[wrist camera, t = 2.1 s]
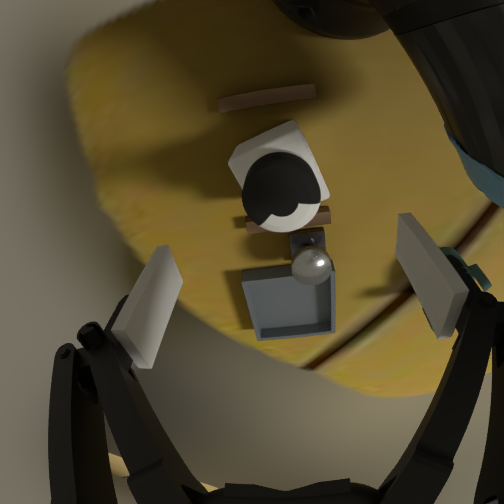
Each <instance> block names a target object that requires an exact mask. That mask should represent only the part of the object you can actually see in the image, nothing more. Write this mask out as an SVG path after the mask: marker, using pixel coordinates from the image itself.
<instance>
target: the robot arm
mask: <svg viewBox="0 0 504 504" xmlns="http://www.w3.org/2000/svg"><path fill="white" fill-rule="evenodd" d="M273 1H274V3H275V4H276V5H277V6H278V8H279V9H280V10H281V11H282V12H283V13H284V14H285V15H286V16H288V17H289V18H290V19H291V20H293V21H294V22H296V23H297V24H299V25H300V26H302V27H304V28H306V29H308V30H310V31H312V32H315V33H317V34H320V35H323V36H327V37H331V38H336V39H345V40H356V39H364V38H368V37H372V36H375V35H377V34H380V33H382V32H385V31H387V30H388V29H391V30H392V31H393V33H394V35H395V37H396V38H397V39H398V41H399V42H400V44H401V45H402V47H403V48H404V50H405V51H406V53H407V54H408V56H409V58H410V59H411V61H412V62H413V64H414V66H415V67H416V69H417V71H418V72H419V74H420V76H421V77H422V79H423V81H424V83H425V85H426V86H427V88H428V90H429V92H430V94H431V96H432V98H433V100H434V102H435V104H436V106H437V108H438V110H439V112H440V114H441V116H442V118H443V120H444V127H445V130H446V133H447V135H448V137H449V139H450V141H451V143H452V144H453V145H454V147H455V148H456V150H457V152H458V154H459V156H460V159H461V161H462V163H463V166H464V169H465V171H466V173H467V175H468V176H469V178H470V180H471V181H472V182H473V184H474V185H475V186H476V187H477V189H479V190H480V191H482V192H484V193H485V195H486V196H487V197H488V198H489V199H490V200H491V201H493V202H494V203H496V204H497V205H499V206H501V207H502V208H504V0H273ZM395 256H396V257H397V259H398V261H399V263H400V264H401V266H402V268H403V270H404V272H405V274H406V275H407V277H408V279H409V281H410V283H411V285H412V287H413V289H414V291H415V293H416V295H417V297H418V299H419V301H420V303H421V305H422V307H423V309H424V311H425V313H426V315H427V317H428V319H429V321H430V323H431V326H432V328H433V330H434V332H435V335H436V337H437V339H438V340H440V339H444V338H448V337H451V336H452V334H453V332H454V330H455V327H456V329H457V331H458V333H459V334H458V337H457V339H456V341H455V343H454V345H453V348H452V349H453V351H452V353H451V356H450V359H449V362H448V364H447V367H446V369H445V372H444V374H443V377H442V379H441V382H440V384H439V386H438V388H437V391H436V393H435V395H434V397H433V400H432V402H431V404H430V406H429V408H428V410H427V412H426V414H425V416H424V418H423V420H422V422H421V424H420V426H419V427H418V429H417V431H416V433H415V435H414V436H413V438H412V440H411V442H410V443H409V445H408V447H407V449H406V450H405V452H404V453H403V455H402V457H401V459H400V460H399V461H398V463H397V464H396V466H395V467H394V469H393V470H392V471H391V472H390V474H389V475H388V476H387V478H386V479H385V480H384V482H383V483H382V485H381V486H380V487H379V489H378V490H377V489H374V488H372V487H370V486H367V485H364V484H359V483H353V482H352V483H351V482H350V478H348V479H340V480H333V481H325V482H318V483H314V484H311V485H308V486H305V487H301V488H297V489H294V490H290V491H281V490H276V489H272V488H267V487H263V486H259V485H255V484H230V483H225V488H221V489H217V490H214V491H211V492H208V491H207V490H206V489H205V487H204V486H203V485H202V484H201V483H200V482H199V481H198V480H196V478H195V477H194V476H193V475H192V473H191V472H190V470H189V469H188V467H187V466H186V464H185V463H184V461H183V460H182V458H181V457H180V455H179V453H178V452H177V450H176V449H175V447H174V445H173V444H172V442H171V440H170V439H169V437H168V435H167V434H166V432H165V430H164V429H163V427H162V425H161V424H160V421H159V420H158V418H157V416H156V414H155V412H154V411H153V409H152V407H151V405H150V403H149V401H148V399H147V397H146V395H145V393H144V391H143V389H142V387H141V385H140V383H139V381H138V379H137V377H136V375H135V372H134V370H133V369H132V368H131V364H132V362H133V361H134V363H135V364H136V365H137V366H138V368H149V369H151V368H152V366H153V363H154V360H155V357H156V354H157V351H158V349H159V346H160V343H161V340H162V337H163V335H164V331H165V329H166V326H167V323H168V321H169V318H170V315H171V313H172V310H173V307H174V305H175V302H176V299H177V297H178V294H179V292H180V289H181V286H182V284H183V280H182V278H181V275H180V273H179V270H178V268H177V265H176V263H175V260H174V258H173V255H172V253H171V250H170V248H169V245H165V246H159V247H157V248H156V249H155V251H154V253H153V254H152V256H151V258H150V259H149V261H148V263H147V265H146V266H145V268H144V270H143V271H142V273H141V275H140V277H139V279H138V280H137V282H136V284H135V286H134V287H133V289H132V291H131V293H130V295H126V296H125V297H124V298H123V299H122V300H121V301H120V302H119V303H118V305H117V307H116V310H115V311H114V312H113V314H112V315H113V316H111V318H110V320H109V322H108V324H107V325H106V327H105V329H104V331H103V330H102V328H101V327H100V325H99V324H98V323H97V322H89V323H87V324H85V325H84V326H82V327H81V329H80V330H79V331H78V334H77V339H78V341H79V342H80V343H81V344H82V346H83V347H84V348H80V349H76V348H75V347H74V345H73V344H71V343H67V344H64V345H62V346H61V347H60V348H59V349H58V350H57V352H56V355H55V359H54V366H53V373H52V382H51V392H50V405H49V427H48V459H49V478H50V490H51V498H52V499H51V504H118V503H117V498H116V494H115V489H114V484H113V479H112V473H111V468H110V462H109V455H108V449H107V440H106V434H105V433H106V432H105V423H104V413H105V416H106V419H107V421H108V424H109V427H110V429H111V432H112V434H113V437H114V439H115V442H116V444H117V447H118V449H119V451H120V454H121V456H122V458H123V460H124V463H125V465H126V467H127V469H128V471H129V474H130V477H128V478H127V483H128V486H129V488H130V490H131V492H132V494H133V496H134V498H135V500H136V502H137V504H434V502H435V500H436V499H437V497H438V495H439V494H440V492H441V490H442V488H443V486H444V485H445V483H446V481H447V480H448V478H449V476H450V473H451V471H452V469H453V466H454V463H453V458H454V456H455V454H456V451H457V449H458V447H459V445H460V443H461V440H462V438H463V436H464V433H465V431H466V429H467V426H468V424H469V421H470V418H471V416H472V413H473V410H474V407H475V404H476V401H477V398H478V396H479V392H480V389H481V386H482V382H483V379H484V375H485V372H486V368H487V364H488V360H489V356H490V351H491V347H492V392H491V407H490V417H489V426H488V433H487V441H486V446H485V452H484V457H483V462H482V467H481V471H480V475H479V479H478V483H477V488H476V492H475V497H474V504H504V302H498V301H497V299H496V298H495V297H494V296H493V295H492V294H490V293H488V292H483V291H481V290H480V288H479V287H478V285H477V284H476V282H475V281H474V280H473V278H472V277H471V275H470V274H468V271H467V270H466V269H465V268H464V266H463V264H462V263H461V262H460V261H459V260H458V259H457V258H456V257H454V256H453V255H444V254H443V252H442V251H441V250H440V248H439V247H438V246H437V245H436V243H435V242H434V241H433V239H432V238H431V237H430V236H429V234H428V233H427V232H426V231H425V229H424V228H423V227H422V226H421V225H420V223H419V222H418V221H417V220H416V219H415V217H414V216H413V215H412V214H411V213H402V214H398V230H397V243H396V254H395ZM103 410H104V411H103Z"/></svg>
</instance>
